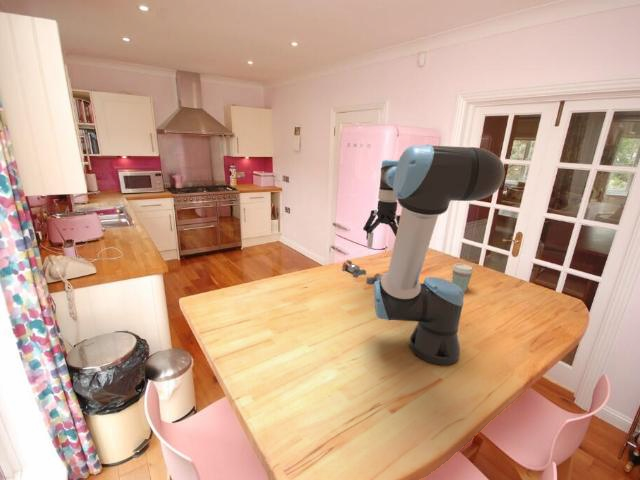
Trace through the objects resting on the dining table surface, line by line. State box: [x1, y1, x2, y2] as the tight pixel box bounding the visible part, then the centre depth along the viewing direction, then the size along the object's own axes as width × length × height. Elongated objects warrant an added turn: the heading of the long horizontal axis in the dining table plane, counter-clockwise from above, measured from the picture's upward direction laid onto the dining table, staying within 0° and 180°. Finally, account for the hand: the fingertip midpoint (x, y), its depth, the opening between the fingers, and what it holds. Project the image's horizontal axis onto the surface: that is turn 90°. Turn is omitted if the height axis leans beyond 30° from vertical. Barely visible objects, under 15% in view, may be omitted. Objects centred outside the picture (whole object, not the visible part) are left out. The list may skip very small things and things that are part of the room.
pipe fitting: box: [341, 259, 384, 285], centre depth 143 cm, size 8×26×6 cm, turn 42°
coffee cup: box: [451, 263, 474, 294], centre depth 135 cm, size 9×8×12 cm
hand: (382, 251), depth 123 cm, fingers open, 13 cm apart
